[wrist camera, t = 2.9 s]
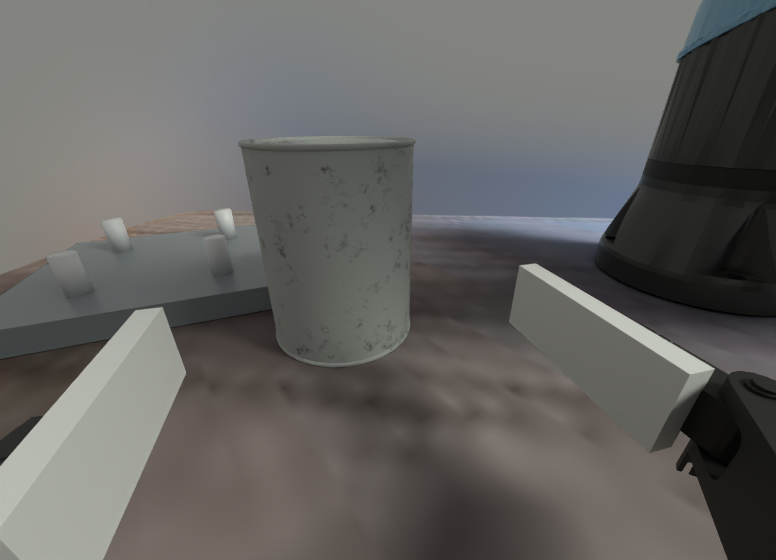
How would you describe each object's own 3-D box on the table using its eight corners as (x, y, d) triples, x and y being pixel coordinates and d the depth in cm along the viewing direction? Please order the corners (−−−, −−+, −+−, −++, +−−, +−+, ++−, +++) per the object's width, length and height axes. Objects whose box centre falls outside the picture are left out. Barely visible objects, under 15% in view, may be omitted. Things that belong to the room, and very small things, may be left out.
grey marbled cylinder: (349, 282, 30) (339, 135, 24) (436, 319, 24) (449, 137, 18) (250, 326, 23) (206, 140, 18) (336, 392, 17) (310, 147, 12)
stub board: (278, 237, 41) (272, 198, 39) (295, 304, 26) (286, 245, 24) (84, 260, 35) (63, 214, 32) (-44, 367, 20) (-99, 294, 17)
